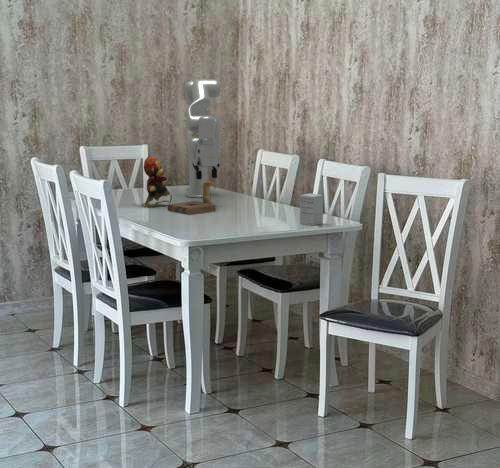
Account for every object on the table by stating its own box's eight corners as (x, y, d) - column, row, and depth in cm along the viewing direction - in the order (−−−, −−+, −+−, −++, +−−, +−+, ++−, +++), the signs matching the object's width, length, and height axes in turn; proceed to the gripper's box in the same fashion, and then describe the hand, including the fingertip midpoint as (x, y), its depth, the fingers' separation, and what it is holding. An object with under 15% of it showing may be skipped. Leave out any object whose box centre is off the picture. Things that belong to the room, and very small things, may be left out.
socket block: (167, 210, 387) (167, 204, 386) (193, 207, 398) (193, 201, 397) (189, 214, 376) (189, 208, 375) (215, 211, 387) (215, 204, 386)
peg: (201, 207, 397) (201, 182, 395) (207, 206, 400) (207, 182, 397) (206, 208, 395) (206, 183, 392) (212, 207, 397) (211, 182, 395)
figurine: (213, 201, 416) (213, 178, 414) (217, 203, 410) (217, 179, 408) (197, 202, 413) (197, 178, 411) (200, 204, 408) (200, 180, 405)
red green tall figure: (151, 206, 389) (142, 154, 389) (137, 210, 403) (129, 160, 403) (179, 202, 396) (171, 151, 396) (165, 206, 411) (157, 157, 411)
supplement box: (309, 221, 360) (309, 193, 357) (323, 223, 355) (323, 194, 353) (299, 223, 354) (299, 194, 352) (313, 225, 350) (313, 196, 347)
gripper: (197, 143, 383) (198, 180, 385) (225, 142, 394) (225, 177, 397) (187, 142, 388) (187, 179, 391) (214, 141, 400) (215, 176, 403)
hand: (206, 178), depth 394 cm, fingers open, 9 cm apart
